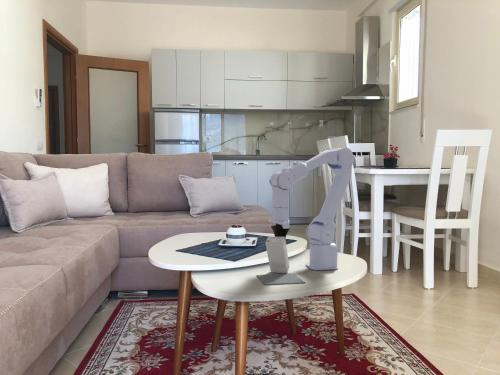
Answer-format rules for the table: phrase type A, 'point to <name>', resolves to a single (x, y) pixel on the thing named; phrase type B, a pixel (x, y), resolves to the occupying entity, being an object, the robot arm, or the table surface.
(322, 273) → the table surface
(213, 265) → the table surface
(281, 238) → the skincare box
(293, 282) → the mat
